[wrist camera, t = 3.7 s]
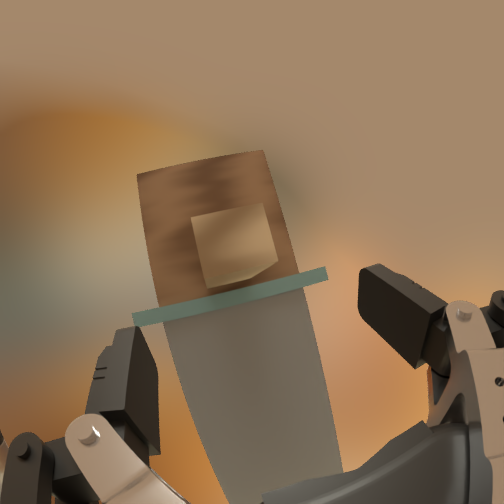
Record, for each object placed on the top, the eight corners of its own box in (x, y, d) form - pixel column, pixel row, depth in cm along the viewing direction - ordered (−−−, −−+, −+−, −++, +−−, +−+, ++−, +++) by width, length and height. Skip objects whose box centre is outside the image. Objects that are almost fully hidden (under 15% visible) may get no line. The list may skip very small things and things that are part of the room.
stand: (245, 567, 13) (131, 313, 17) (240, 541, 18) (147, 311, 22) (369, 526, 16) (324, 266, 20) (351, 506, 21) (303, 273, 25)
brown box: (122, 310, 10) (104, 108, 11) (169, 306, 22) (148, 196, 24) (355, 253, 12) (289, 78, 13) (282, 279, 24) (254, 174, 26)
